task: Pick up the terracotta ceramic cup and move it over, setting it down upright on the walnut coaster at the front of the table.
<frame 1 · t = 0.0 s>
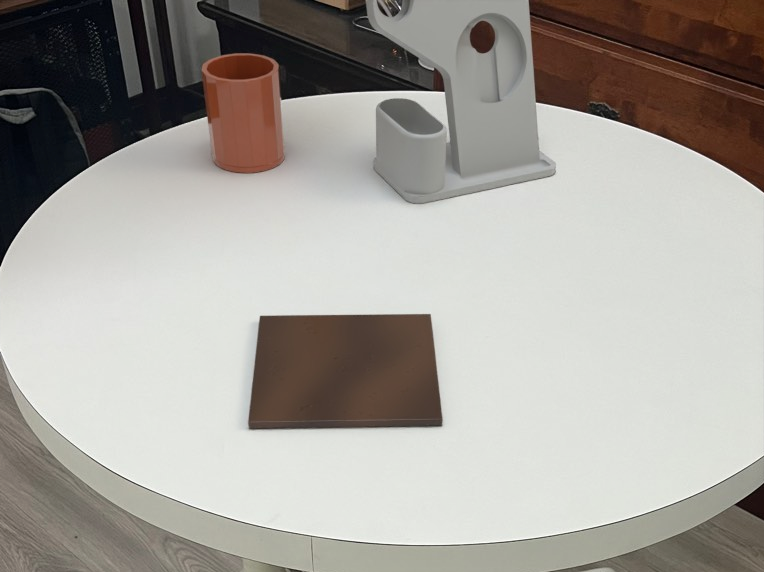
cup: (249, 157, 103), on the table
phone holder: (462, 170, 102), on the table
coaster: (345, 370, 77), on the table
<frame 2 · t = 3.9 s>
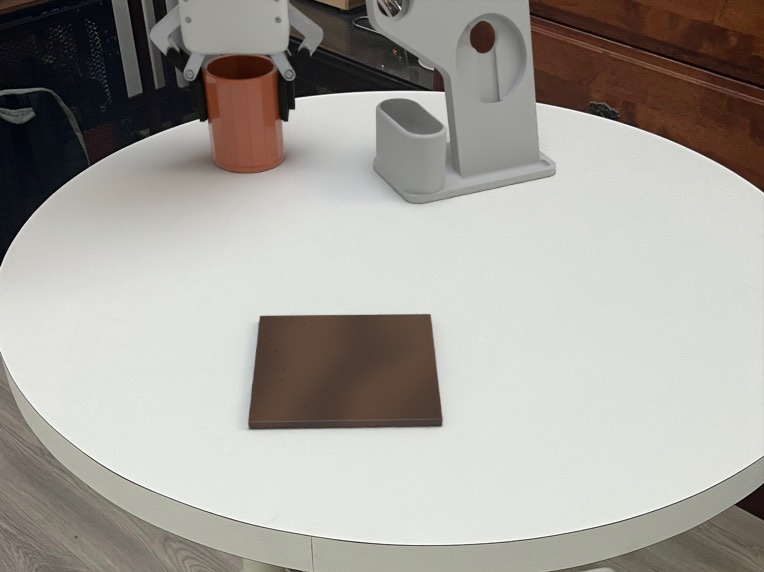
hand: (245, 115, 100), 4 cm above the table, tool pointing down, fingers closed on cup, 7 cm apart
cup: (249, 157, 103), on the table, touching gripper
everything else where it was.
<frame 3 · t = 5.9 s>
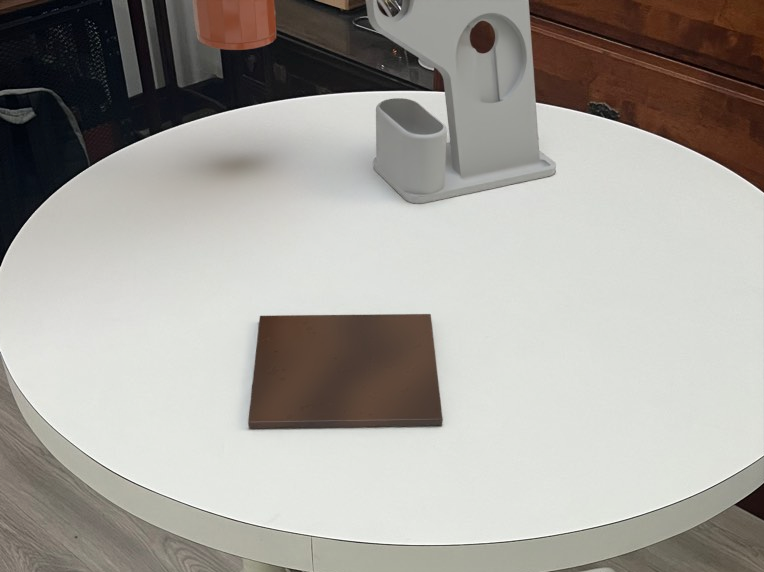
cup: (237, 36, 93), point 12 cm above the table, touching gripper
everything else where it was.
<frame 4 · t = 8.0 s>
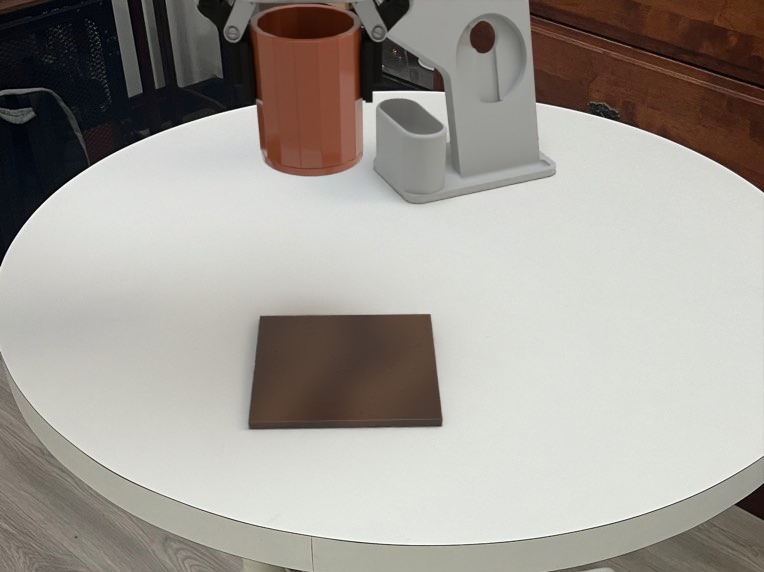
hand: (309, 94, 70), 18 cm above the table, tool pointing down, fingers closed on cup, 7 cm apart
cup: (312, 154, 73), point 14 cm above the table, touching gripper
everything else where it was.
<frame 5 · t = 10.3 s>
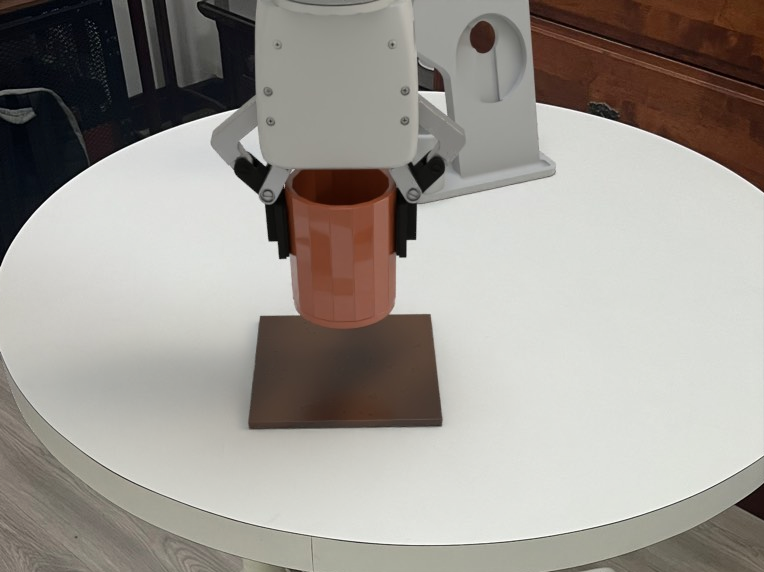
hand: (342, 247, 69), 10 cm above the table, tool pointing down, fingers closed on cup, 7 cm apart
cup: (344, 301, 72), point 6 cm above the table, touching gripper
everything else where it was.
when the fingers open (5 cm above the table, at t = 12.3 s): cup stays where it is, resting on coaster.
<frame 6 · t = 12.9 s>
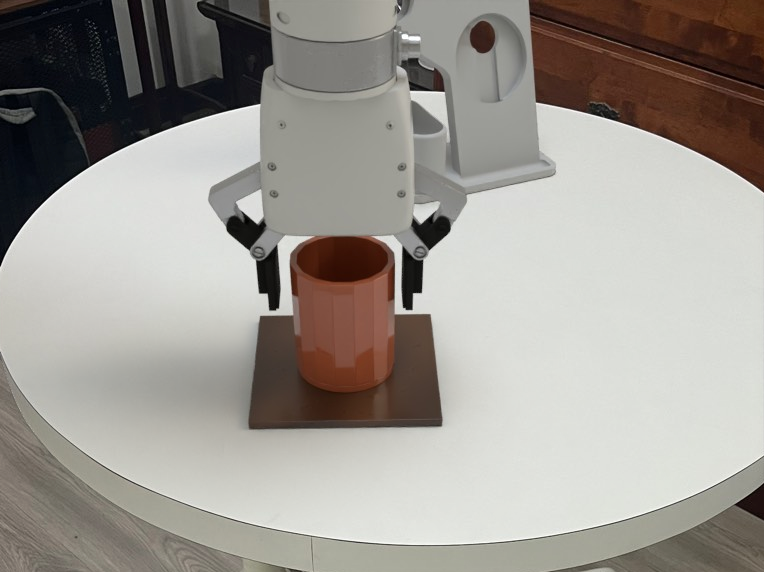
hand: (341, 300, 72), 6 cm above the table, tool pointing down, fingers open, 9 cm apart
cup: (345, 364, 76), point 1 cm above the table, touching coaster
everything else where it was.
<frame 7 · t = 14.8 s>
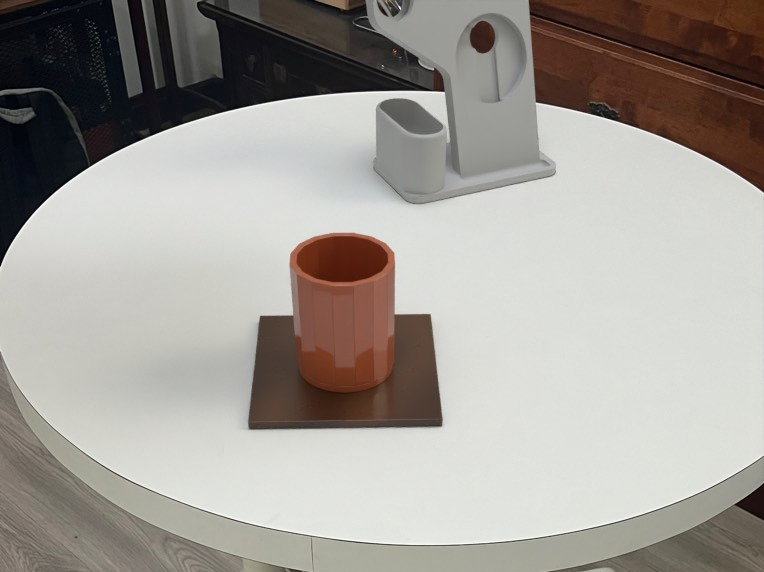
nothing on the table moved.
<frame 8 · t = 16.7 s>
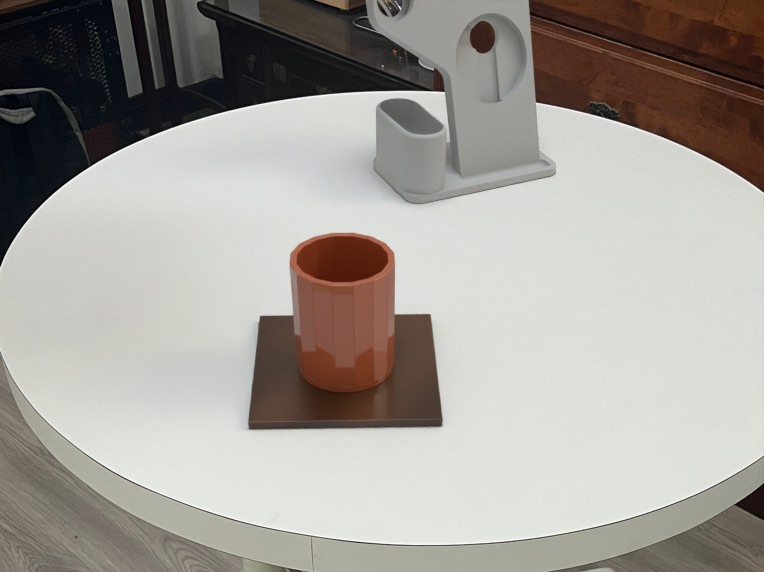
nothing on the table moved.
at the end: cup 0.0 cm off-centre on the coaster, point 0.6 cm above the coaster's base; cup tilted 0°; the gripper is holding nothing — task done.
